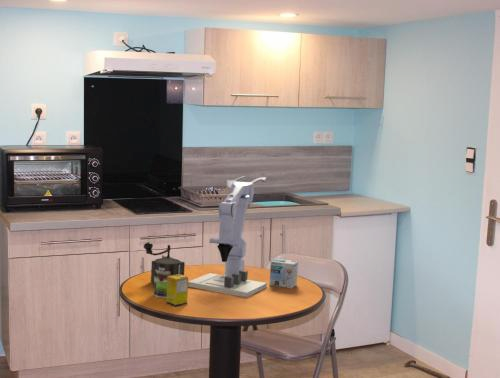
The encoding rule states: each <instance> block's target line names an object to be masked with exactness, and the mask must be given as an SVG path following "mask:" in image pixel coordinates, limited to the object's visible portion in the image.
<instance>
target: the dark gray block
mask: <svg viewBox="0 0 500 378" xmlns="http://www.w3.org/2000/svg"><path fill="white" fill-rule="evenodd" d="M232 277H234V283H233V284H240V283H241V274H238V273H233V274H232Z"/></svg>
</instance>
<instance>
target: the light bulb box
mask: <svg viewBox="0 0 500 378" xmlns="http://www.w3.org/2000/svg"><path fill="white" fill-rule="evenodd" d="M298 267H299V261H297V260H296V261H295V260H289V259H281V258H274V259H272V260H271V261H270V269H269V270H270V273H269V285H270V286H275V287H282V288H286V287H287V288H288V289H293V288H294V287H296V286H297V283H298V281H297V280H298V271H299V268H298Z"/></svg>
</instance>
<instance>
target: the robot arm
mask: <svg viewBox="0 0 500 378" xmlns="http://www.w3.org/2000/svg"><path fill="white" fill-rule="evenodd" d="M230 192H231V193H229V194H228V195H227V196H226V198H225V199H224V201H222V202H220V203H219V205H218V219H219V227H218V228H219V229H218V230H219V232H218V238H216V237H209V242H208V243H209V244H217V246H216V247H217V249H218V251H219V254H220V258H221V262H222V263H225V264H224V274H223V275H224V276H231V277H232V274H233V273H238V274H239V271H240V270H244V271H245V259H244V258H245V256H246V251H247V248H246V247H247V242H246V241H245V239H244V238H243V237H242V236H243V235H242V234H243V231H244V225H245V220H246V214H247V210H248V206H249V204H251V203H252V202H253V200H254V194H255V184H254V182H248V181H247V182H245V181H235V180H234V181H232V183H231V186H230Z"/></svg>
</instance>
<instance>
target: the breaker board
mask: <svg viewBox="0 0 500 378" xmlns="http://www.w3.org/2000/svg"><path fill="white" fill-rule="evenodd" d="M224 275H225V274H223V275H222V274H218V273H211V272H209V273H207V274H203V275H202V276H201V275H200V276H199V277H197V278H194V279H192V280H188V288H189V287H190V288H194V289H195V288H196V289H200V290H205V291H211V292H216V293H221V294H226V295H231V296H237V297H242V298H249V297H251V296H253V295H255V294H257V293H259V292H261V291H263V290H264V289H267V287H268V282H263V281H257V280H251V279H247V280H246V281H241V283H240V284H233V287H231V288H230V287H224V281H225V277H226V276H224Z"/></svg>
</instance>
